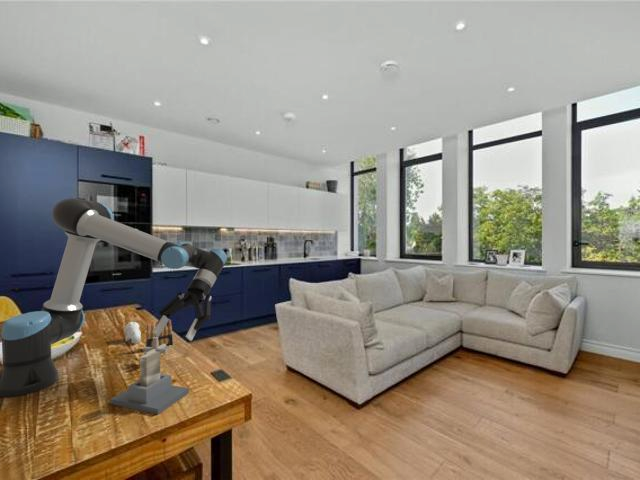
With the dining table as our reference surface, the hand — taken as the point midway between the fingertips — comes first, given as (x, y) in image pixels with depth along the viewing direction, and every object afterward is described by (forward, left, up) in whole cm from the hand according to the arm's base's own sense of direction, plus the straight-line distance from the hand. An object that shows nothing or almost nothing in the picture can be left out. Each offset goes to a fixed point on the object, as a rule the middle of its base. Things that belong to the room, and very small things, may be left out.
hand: (171, 336), depth 100 cm
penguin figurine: (-33, +47, -17) cm, 60 cm away
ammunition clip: (-18, +37, -17) cm, 44 cm away
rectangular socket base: (-4, -7, -16) cm, 18 cm away
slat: (-4, -7, -15) cm, 17 cm away
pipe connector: (-13, +20, -17) cm, 29 cm away
